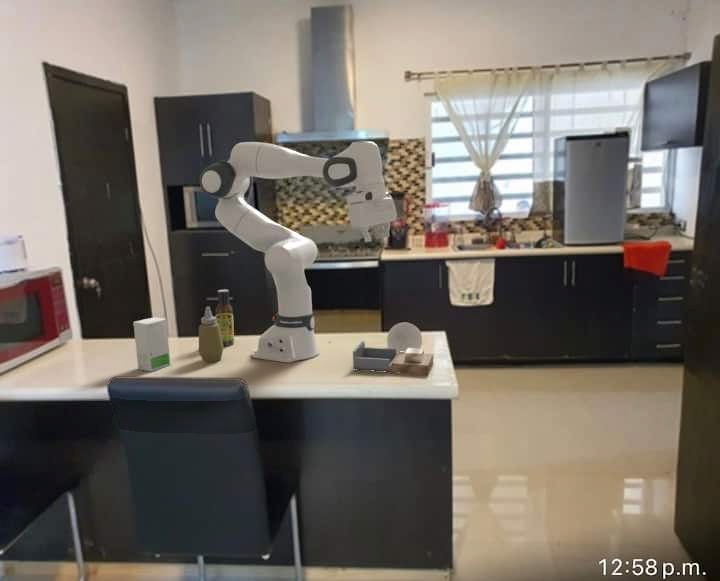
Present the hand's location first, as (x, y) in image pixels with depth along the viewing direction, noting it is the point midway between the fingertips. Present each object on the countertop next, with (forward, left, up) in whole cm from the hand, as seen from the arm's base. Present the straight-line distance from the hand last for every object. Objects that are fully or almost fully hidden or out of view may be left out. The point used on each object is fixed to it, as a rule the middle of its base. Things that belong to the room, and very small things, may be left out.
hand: (377, 239), depth 174 cm
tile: (+12, -6, -36) cm, 38 cm away
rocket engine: (+6, +13, -39) cm, 42 cm away
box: (0, -6, -39) cm, 39 cm away
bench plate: (+12, -6, -39) cm, 41 cm away
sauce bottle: (-59, +7, -39) cm, 71 cm away
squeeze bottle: (-55, -10, -39) cm, 68 cm away
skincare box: (-70, -20, -39) cm, 83 cm away
